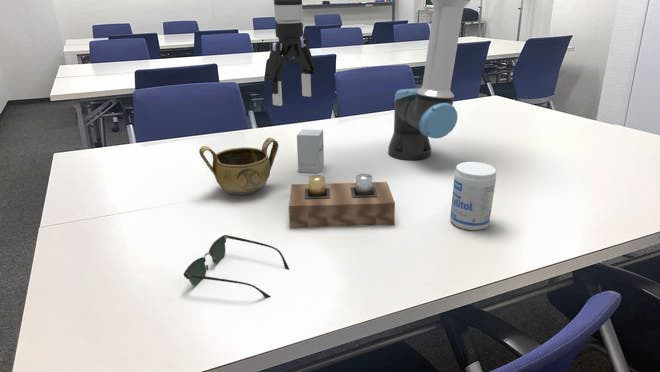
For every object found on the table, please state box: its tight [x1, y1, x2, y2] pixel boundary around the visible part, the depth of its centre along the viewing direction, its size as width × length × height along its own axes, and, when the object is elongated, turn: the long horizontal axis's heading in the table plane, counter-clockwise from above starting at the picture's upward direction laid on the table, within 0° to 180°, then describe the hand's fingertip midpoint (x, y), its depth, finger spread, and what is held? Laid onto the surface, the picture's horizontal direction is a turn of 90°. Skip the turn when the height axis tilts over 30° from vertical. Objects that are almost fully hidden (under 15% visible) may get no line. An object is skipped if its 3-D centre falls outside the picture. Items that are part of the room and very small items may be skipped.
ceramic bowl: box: [198, 137, 279, 196], centre depth 138 cm, size 22×17×15 cm
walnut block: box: [288, 181, 396, 229], centre depth 123 cm, size 26×14×6 cm, turn 92°
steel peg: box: [355, 173, 373, 196], centre depth 122 cm, size 4×4×6 cm
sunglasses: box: [183, 234, 290, 298], centre depth 97 cm, size 16×17×5 cm
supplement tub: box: [449, 161, 497, 231], centre depth 116 cm, size 10×10×15 cm
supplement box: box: [296, 128, 325, 174], centre depth 154 cm, size 7×7×13 cm
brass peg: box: [308, 174, 326, 197], centre depth 121 cm, size 4×4×6 cm
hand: (292, 100), depth 135 cm, fingers open, 13 cm apart
